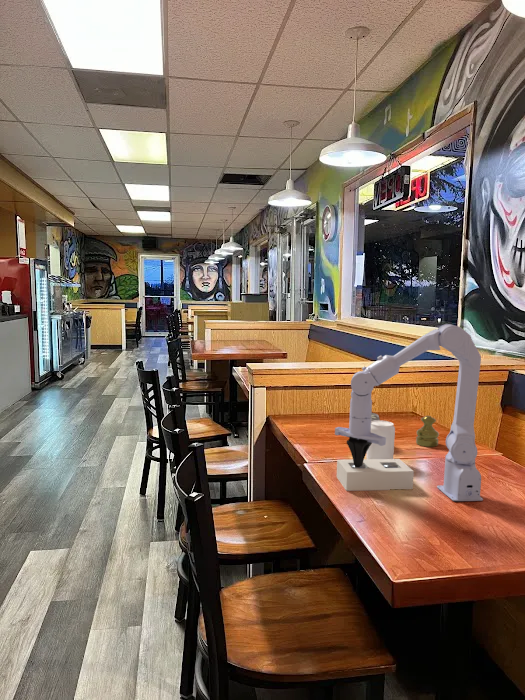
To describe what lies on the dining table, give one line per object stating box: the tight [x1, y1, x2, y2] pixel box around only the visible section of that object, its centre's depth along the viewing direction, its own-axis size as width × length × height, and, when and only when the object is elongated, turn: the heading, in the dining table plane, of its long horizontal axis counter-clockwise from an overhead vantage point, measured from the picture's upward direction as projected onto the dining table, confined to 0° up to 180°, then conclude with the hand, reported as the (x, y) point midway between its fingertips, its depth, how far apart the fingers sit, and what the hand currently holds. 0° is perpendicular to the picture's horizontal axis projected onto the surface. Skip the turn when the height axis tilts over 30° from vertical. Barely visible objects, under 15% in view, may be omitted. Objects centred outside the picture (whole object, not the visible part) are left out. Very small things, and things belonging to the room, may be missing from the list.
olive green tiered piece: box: [415, 415, 440, 448], centre depth 174 cm, size 7×7×10 cm
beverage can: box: [365, 419, 396, 459], centre depth 154 cm, size 8×8×12 cm
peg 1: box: [351, 463, 366, 469], centre depth 135 cm, size 4×4×4 cm
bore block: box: [336, 458, 415, 492], centre depth 136 cm, size 10×18×5 cm, turn 96°
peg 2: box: [383, 463, 398, 468], centre depth 136 cm, size 4×4×4 cm
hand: (358, 465), depth 135 cm, fingers closed, pressing on peg 1
